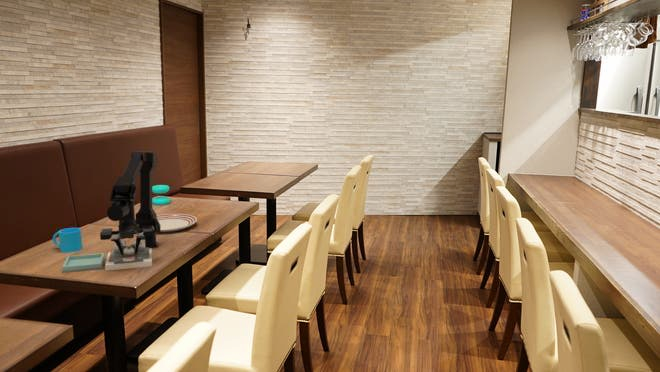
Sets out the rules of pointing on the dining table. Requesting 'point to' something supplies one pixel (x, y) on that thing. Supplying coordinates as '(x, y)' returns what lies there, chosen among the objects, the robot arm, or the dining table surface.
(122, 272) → the dining table surface
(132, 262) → the scale
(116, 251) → the cylinder
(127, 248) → the cylinder
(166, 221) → the dinner plate
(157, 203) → the donuts
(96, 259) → the tray
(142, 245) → the cylinder
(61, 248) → the mug
